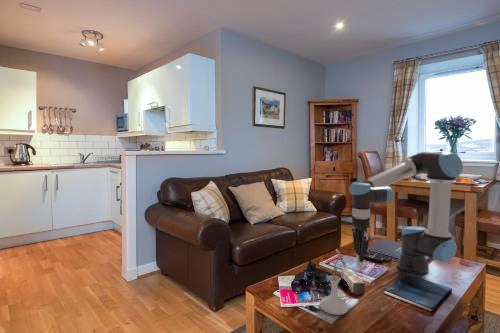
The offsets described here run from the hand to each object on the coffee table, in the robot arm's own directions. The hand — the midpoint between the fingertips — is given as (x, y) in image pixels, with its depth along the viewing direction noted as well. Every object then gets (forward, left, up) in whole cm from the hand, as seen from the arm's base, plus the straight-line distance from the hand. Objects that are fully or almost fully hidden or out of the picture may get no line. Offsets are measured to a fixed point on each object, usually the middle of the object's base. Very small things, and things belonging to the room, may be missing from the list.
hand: (359, 267), depth 132 cm
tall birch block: (0, 0, -10) cm, 10 cm away
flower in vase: (+16, +11, -13) cm, 23 cm away
